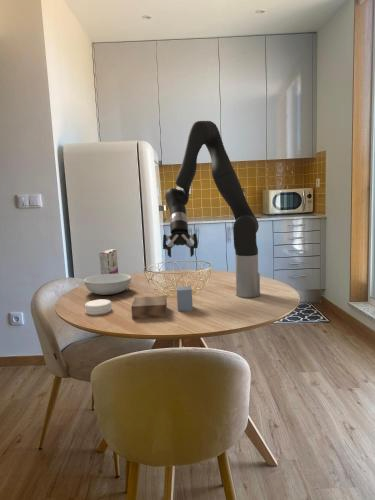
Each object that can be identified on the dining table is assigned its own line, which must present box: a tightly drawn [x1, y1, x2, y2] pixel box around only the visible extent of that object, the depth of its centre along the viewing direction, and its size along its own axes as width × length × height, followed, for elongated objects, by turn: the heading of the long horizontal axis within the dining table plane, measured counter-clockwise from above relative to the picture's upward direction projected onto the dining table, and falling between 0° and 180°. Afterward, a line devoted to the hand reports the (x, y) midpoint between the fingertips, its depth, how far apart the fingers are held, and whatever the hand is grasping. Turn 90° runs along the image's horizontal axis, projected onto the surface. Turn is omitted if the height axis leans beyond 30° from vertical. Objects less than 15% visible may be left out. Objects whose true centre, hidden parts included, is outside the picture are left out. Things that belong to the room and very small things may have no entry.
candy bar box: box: [98, 248, 119, 275], centre depth 195 cm, size 11×5×16 cm, turn 168°
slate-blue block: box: [176, 285, 194, 312], centre depth 146 cm, size 6×6×8 cm
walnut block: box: [131, 295, 168, 320], centre depth 143 cm, size 12×12×5 cm
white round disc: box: [84, 298, 113, 316], centre depth 149 cm, size 10×10×4 cm
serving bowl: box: [83, 273, 132, 296], centre depth 176 cm, size 21×21×7 cm
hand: (181, 255), depth 156 cm, fingers open, 8 cm apart
